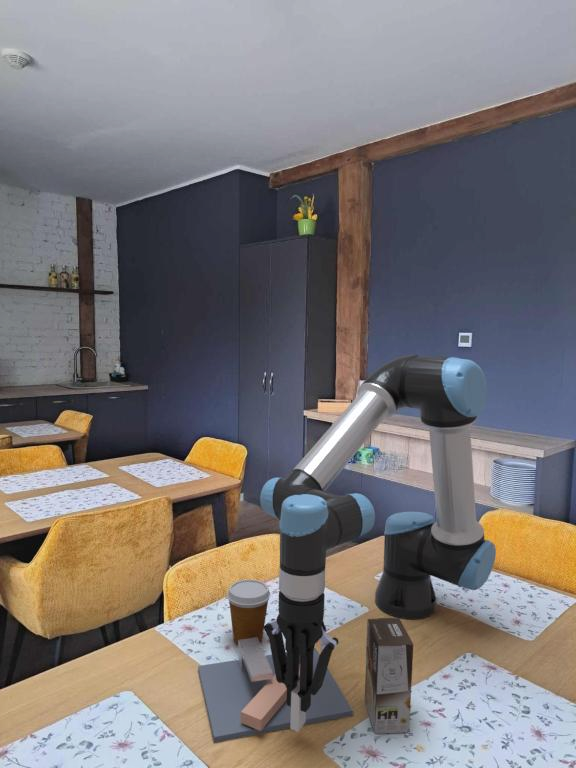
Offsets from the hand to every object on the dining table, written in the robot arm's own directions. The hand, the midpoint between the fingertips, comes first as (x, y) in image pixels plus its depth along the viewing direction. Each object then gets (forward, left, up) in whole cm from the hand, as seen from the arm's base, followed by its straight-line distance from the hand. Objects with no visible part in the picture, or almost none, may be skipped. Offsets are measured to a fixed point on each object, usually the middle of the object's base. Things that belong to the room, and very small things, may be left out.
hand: (297, 725), depth 93 cm
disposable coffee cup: (+2, -31, -3) cm, 31 cm away
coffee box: (-17, -2, -3) cm, 17 cm away
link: (0, -10, -1) cm, 10 cm away
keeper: (+4, -16, -3) cm, 17 cm away
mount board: (+1, -13, -3) cm, 13 cm away
